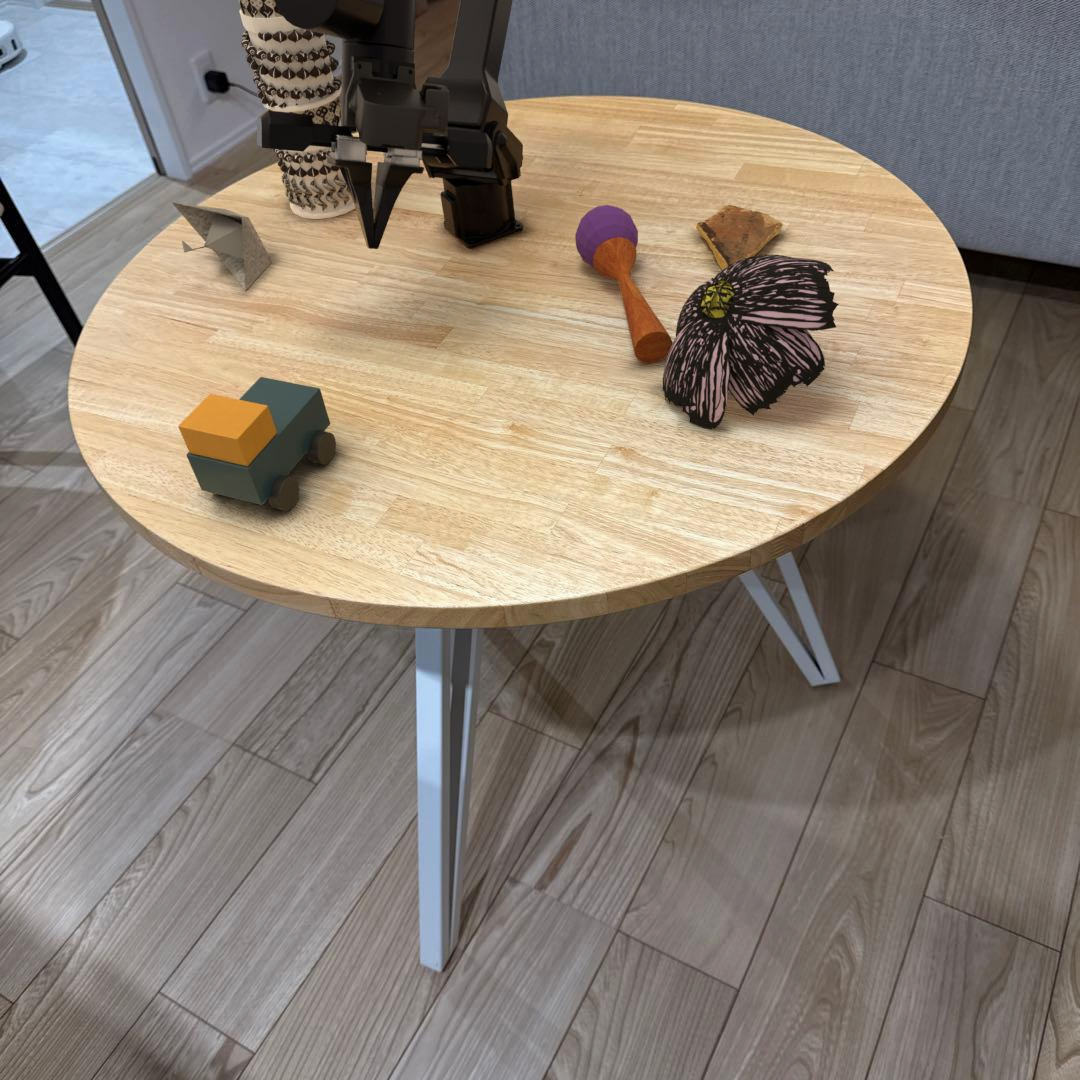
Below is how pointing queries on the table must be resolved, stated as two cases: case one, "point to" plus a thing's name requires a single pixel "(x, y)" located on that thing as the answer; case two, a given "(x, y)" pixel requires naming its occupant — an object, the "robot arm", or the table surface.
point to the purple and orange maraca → (622, 275)
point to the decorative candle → (298, 102)
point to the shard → (737, 233)
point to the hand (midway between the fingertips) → (372, 248)
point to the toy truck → (258, 441)
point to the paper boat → (228, 240)
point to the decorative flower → (749, 336)
